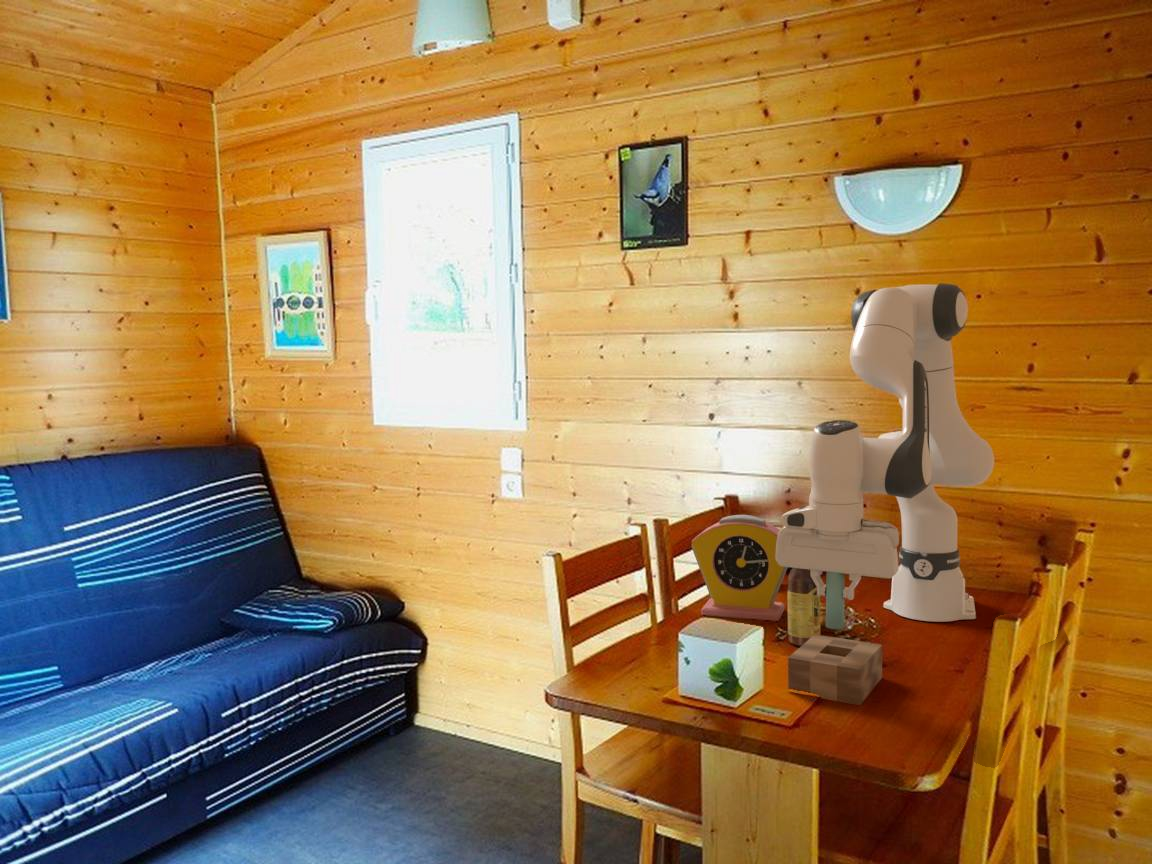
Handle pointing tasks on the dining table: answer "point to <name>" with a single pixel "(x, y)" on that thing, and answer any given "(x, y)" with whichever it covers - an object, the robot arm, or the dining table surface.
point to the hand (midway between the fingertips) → (835, 597)
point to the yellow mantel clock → (740, 568)
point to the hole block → (836, 668)
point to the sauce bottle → (802, 607)
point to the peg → (834, 600)
